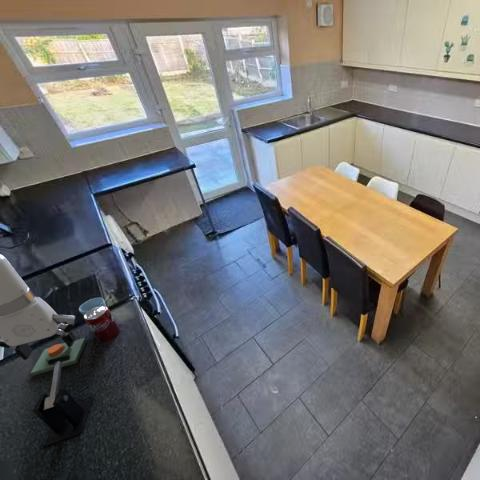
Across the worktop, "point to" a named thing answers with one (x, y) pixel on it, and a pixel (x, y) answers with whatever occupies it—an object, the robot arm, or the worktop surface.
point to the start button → (55, 349)
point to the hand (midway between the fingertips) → (51, 348)
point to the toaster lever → (54, 381)
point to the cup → (91, 305)
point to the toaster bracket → (63, 416)
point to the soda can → (102, 323)
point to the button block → (71, 351)
